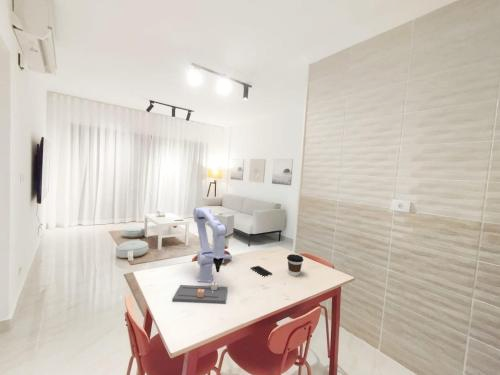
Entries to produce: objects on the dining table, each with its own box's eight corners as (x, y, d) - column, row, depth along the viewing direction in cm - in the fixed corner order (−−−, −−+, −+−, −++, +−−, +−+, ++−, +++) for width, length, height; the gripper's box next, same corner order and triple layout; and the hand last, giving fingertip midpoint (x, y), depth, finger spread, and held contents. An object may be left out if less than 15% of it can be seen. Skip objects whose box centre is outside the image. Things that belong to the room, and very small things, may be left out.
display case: (224, 265, 159) (227, 216, 158) (211, 263, 163) (213, 214, 161) (231, 260, 170) (234, 214, 168) (218, 258, 174) (221, 212, 172)
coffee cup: (295, 279, 144) (296, 261, 144) (282, 273, 153) (283, 255, 152) (305, 275, 152) (307, 257, 151) (292, 269, 160) (293, 253, 159)
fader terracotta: (198, 294, 116) (198, 288, 116) (204, 294, 116) (204, 288, 116) (197, 297, 113) (197, 291, 113) (203, 297, 113) (203, 291, 113)
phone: (263, 276, 145) (249, 267, 157) (263, 277, 145) (249, 269, 157) (273, 273, 150) (258, 265, 162) (272, 275, 150) (258, 267, 162)
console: (180, 287, 125) (180, 284, 125) (227, 289, 126) (227, 286, 126) (172, 301, 111) (172, 298, 111) (225, 303, 112) (225, 300, 112)
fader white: (211, 287, 124) (212, 281, 124) (217, 287, 124) (217, 282, 124) (211, 289, 121) (211, 284, 121) (216, 290, 121) (217, 284, 121)
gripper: (204, 248, 120) (203, 274, 120) (231, 249, 120) (230, 275, 121) (206, 244, 127) (205, 268, 127) (232, 245, 127) (231, 269, 128)
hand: (217, 271), depth 125 cm, fingers closed
